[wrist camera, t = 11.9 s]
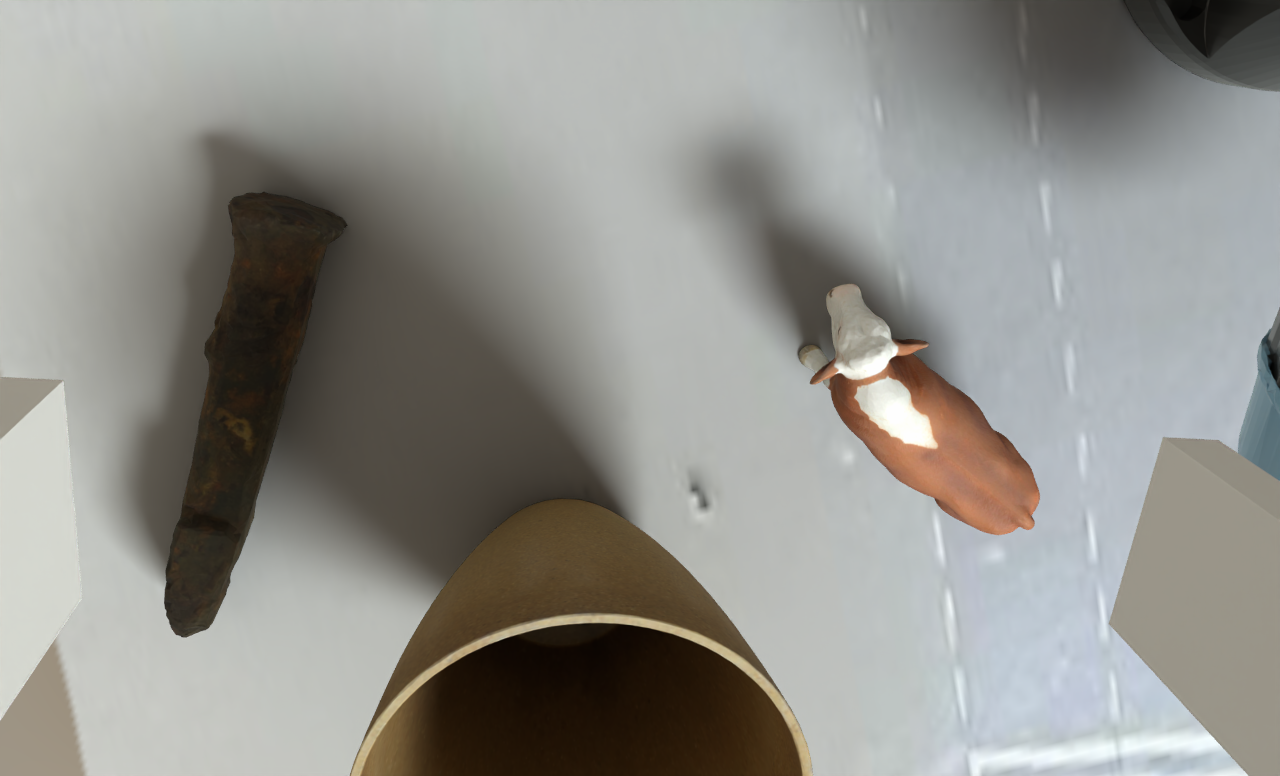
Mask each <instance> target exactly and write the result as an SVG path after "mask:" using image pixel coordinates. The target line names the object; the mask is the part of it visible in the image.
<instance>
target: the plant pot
mask: <svg viewBox="0 0 1280 776" xmlns="http://www.w3.org/2000/svg"><path fill="white" fill-rule="evenodd" d="M350 776H813V772H812V764H811V758H810V754H809V750H808V746H807V743H806V741H805V738H804V735H803V733H802V730H801V728H800V725H799V723H798V721H797V719H796V717H795V716H794V714H793V712H792V710H791V708H790V707H789V705H788V704H787V702H786V700H785V699H784V697H783V696H782V694H781V692H780V691H779V689H778V688H777V686H776V685H775V683H774V681H773V680H772V678H771V677H770V675H769V674H768V672H767V671H766V669H765V668H764V666H763V665H762V664H761V662H760V661H759V659H758V658H757V656H756V655H755V653H754V652H753V651H752V649H751V648H750V646H749V645H748V644H747V642H746V641H745V639H744V638H743V637H742V635H741V634H740V632H739V631H738V630H737V628H736V627H735V625H734V624H733V623H732V621H731V620H730V619H729V618H728V616H727V615H726V614H725V613H724V611H723V610H722V609H721V608H720V606H719V605H718V604H717V603H716V602H715V600H714V599H713V598H712V597H711V595H710V594H709V593H708V592H707V591H706V590H705V589H704V588H703V586H702V585H701V584H700V583H699V582H698V581H697V580H696V579H695V578H694V577H693V575H692V574H691V573H690V572H689V571H688V570H687V569H686V568H685V567H684V566H683V565H682V564H681V563H680V562H679V561H678V560H677V559H676V558H674V557H673V556H672V555H671V554H670V553H669V552H668V551H667V550H666V549H664V548H663V547H662V546H661V545H660V544H659V543H657V542H656V541H655V540H654V539H652V538H651V537H650V536H649V535H647V534H646V533H645V532H643V531H642V530H640V529H639V528H638V527H636V526H635V525H633V524H632V523H630V522H629V521H627V520H626V519H624V518H622V517H621V516H619V515H617V514H616V513H614V512H612V511H610V510H608V509H606V508H604V507H602V506H599V505H597V504H594V503H591V502H587V501H584V500H577V499H553V500H547V501H542V502H539V503H536V504H533V505H531V506H528V507H526V508H524V509H522V510H520V511H518V512H517V513H515V514H514V515H512V516H511V517H510V518H508V519H507V520H506V521H504V522H503V523H502V524H501V525H499V526H498V527H497V528H496V529H495V530H494V531H493V532H492V533H491V534H489V535H488V536H487V537H486V538H485V539H484V540H483V541H482V542H481V543H480V544H479V545H478V546H477V548H476V549H475V550H474V551H473V552H472V553H471V554H470V555H469V556H468V557H467V559H466V560H465V561H464V562H463V563H462V565H461V566H460V567H459V568H458V569H457V570H456V572H455V573H454V574H453V576H452V577H451V578H450V580H449V581H448V582H447V584H446V585H445V586H444V588H443V589H442V590H441V592H440V593H439V595H438V596H437V597H436V599H435V600H434V602H433V603H432V605H431V606H430V608H429V610H428V611H427V613H426V614H425V616H424V617H423V619H422V621H421V622H420V624H419V626H418V627H417V629H416V631H415V632H414V634H413V636H412V638H411V639H410V641H409V643H408V645H407V647H406V648H405V650H404V652H403V654H402V656H401V658H400V660H399V662H398V664H397V666H396V668H395V670H394V672H393V674H392V676H391V679H390V681H389V683H388V685H387V687H386V689H385V691H384V694H383V696H382V698H381V700H380V703H379V705H378V707H377V709H376V712H375V714H374V716H373V718H372V721H371V723H370V725H369V727H368V730H367V732H366V734H365V737H364V739H363V742H362V744H361V746H360V749H359V751H358V754H357V756H356V759H355V761H354V764H353V767H352V770H351V773H350Z"/></svg>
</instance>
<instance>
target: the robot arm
mask: <svg viewBox="0 0 1280 776" xmlns="http://www.w3.org/2000/svg"><path fill="white" fill-rule="evenodd" d="M1124 1H1125V3H1126V5H1127V7H1128V9H1129V11H1130V13H1131V15H1132V17H1133V18H1134V20H1135V22H1136V23H1137V25H1138V26H1139V27H1140V29H1141V30H1142V32H1143V33H1144V34H1145V35H1146V37H1147V38H1148V39H1149V40H1150V41H1151V43H1152V44H1153V45H1154V46H1155V47H1156V48H1157V49H1158V50H1159V51H1160V52H1162V53H1163V54H1164V55H1165V56H1166V57H1168V58H1169V59H1170V60H1171V61H1173V62H1174V63H1176V64H1177V65H1179V66H1180V67H1182V68H1184V69H1186V70H1187V71H1189V72H1191V73H1193V74H1195V75H1198V76H1200V77H1202V78H1205V79H1208V80H1211V81H1214V82H1218V83H1222V84H1226V85H1233V86H1239V87H1245V88H1251V89H1258V90H1265V91H1279V92H1280V0H1124ZM1257 362H1258V371H1259V372H1258V375H1257V379H1256V383H1255V386H1254V389H1253V393H1252V396H1251V399H1250V402H1249V405H1248V409H1247V412H1246V415H1245V418H1244V422H1243V425H1242V428H1241V432H1240V436H1239V444H1238V453H1237V452H1235V451H1234V450H1232V449H1231V448H1229V447H1228V446H1226V445H1225V444H1223V443H1222V442H1220V441H1219V440H1204V439H1185V438H1165V437H1163V439H1162V443H1161V446H1160V450H1159V453H1158V457H1157V460H1156V464H1155V467H1154V470H1153V474H1152V477H1151V481H1150V484H1149V488H1148V491H1147V495H1146V498H1145V501H1144V505H1143V508H1142V512H1141V515H1140V519H1139V522H1138V526H1137V529H1136V532H1135V536H1134V539H1133V543H1132V546H1131V550H1130V553H1129V557H1128V560H1127V563H1126V567H1125V570H1124V574H1123V577H1122V581H1121V584H1120V588H1119V591H1118V594H1117V598H1116V601H1115V605H1114V608H1113V612H1112V615H1111V619H1110V622H1109V624H1110V625H1111V627H1112V628H1113V629H1114V630H1115V631H1116V632H1117V633H1118V634H1119V635H1120V636H1121V637H1122V639H1123V640H1124V641H1125V642H1126V643H1127V644H1128V645H1129V646H1130V647H1131V648H1132V649H1133V650H1134V652H1135V653H1136V654H1137V655H1138V656H1139V657H1140V658H1141V659H1142V660H1143V661H1144V662H1145V664H1146V665H1147V666H1148V667H1149V668H1150V669H1151V670H1152V671H1153V672H1154V673H1155V674H1156V675H1157V677H1158V678H1159V679H1160V680H1161V681H1162V682H1163V683H1164V684H1165V685H1166V686H1167V687H1168V689H1169V690H1170V691H1171V692H1172V693H1173V694H1174V695H1175V696H1176V697H1177V698H1178V699H1179V701H1180V702H1181V703H1182V704H1183V705H1184V706H1185V707H1186V708H1187V709H1188V710H1189V711H1190V712H1191V714H1192V715H1193V716H1194V717H1195V718H1196V719H1197V720H1198V721H1199V722H1200V723H1201V724H1202V726H1203V727H1204V728H1205V729H1206V730H1207V731H1208V732H1209V733H1210V734H1211V735H1212V736H1213V737H1214V739H1215V740H1216V741H1217V742H1218V743H1219V744H1220V745H1221V746H1222V747H1223V748H1224V749H1225V751H1226V752H1227V753H1228V754H1229V755H1230V756H1231V757H1232V758H1233V759H1234V760H1235V761H1236V762H1237V764H1238V765H1239V766H1240V767H1241V768H1242V769H1243V770H1244V771H1245V772H1246V773H1247V774H1248V776H1280V308H1279V311H1278V314H1277V316H1276V319H1275V321H1274V324H1273V327H1272V328H1271V329H1269V331H1268V333H1267V334H1266V336H1265V337H1264V338H1263V339H1262V341H1261V344H1260V346H1259V349H1258V355H1257ZM81 599H82V589H81V577H80V565H79V554H78V542H77V531H76V519H75V507H74V496H73V484H72V473H71V461H70V450H69V438H68V426H67V415H66V403H65V392H64V380H48V379H29V378H9V377H0V720H1V718H2V717H3V716H4V714H5V713H6V711H7V710H8V708H9V707H10V705H11V704H12V702H13V701H14V699H15V698H16V696H17V695H18V693H19V692H20V690H21V689H22V687H23V686H24V684H25V683H26V681H27V680H28V678H29V677H30V675H31V674H32V672H33V671H34V669H35V668H36V666H37V665H38V663H39V662H40V660H41V659H42V657H43V655H44V654H45V653H46V651H47V650H48V648H49V647H50V645H51V644H52V642H53V641H54V639H55V638H56V636H57V635H58V633H59V632H60V630H61V629H62V627H63V626H64V624H65V623H66V621H67V620H68V618H69V617H70V615H71V614H72V612H73V611H74V610H75V608H76V607H77V605H78V604H79V602H80V601H81Z"/></svg>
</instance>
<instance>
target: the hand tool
mask: <svg viewBox="0 0 1280 776" xmlns="http://www.w3.org/2000/svg"><path fill="white" fill-rule="evenodd" d="M229 203H230V204H229V205H228V207H229V214H230V218H231V222H232V234H233V236H234V238H235V239H234V248H235V256H234V261H233V264H232V267H231V272H230V277H229V281H228V287H227V289H226V292H225V295H224V297H223V302H222V307H221V309H220V311H219V312H218V314H217V317H216V319H215V329H214V331H213V333H212V335H211V336H210V337H209V339H208V340H207V341H206V343H205V352H204V354H205V356H206V358H207V360H208V361H209V379H208V384H207V389H206V394H205V399H204V403H203V407H202V411H201V415H200V420H199V427H198V434H197V438H196V443H195V449H194V455H193V460H192V466H191V470H190V474H189V478H188V482H187V487H186V491H185V495H184V499H183V505H182V513H181V517H180V520H179V522H178V523H177V525H176V528H175V531H174V534H173V541H172V544H171V547H170V556H169V560H168V564H167V568H166V581H167V583H166V587H165V598H164V604H165V609H166V610H167V612H166V616H167V618H168V619H169V623H170V625H171V628H172V630H173V631H174V633H175V634H176V635H179V636H181V637H188V636H191V635H193V634H195V633H198V632H200V631H203V630H206V629H208V628H209V627H210V625H211V624H212V623H213V621H214V619H215V617H216V614H217V612H218V610H219V608H220V606H221V604H222V601H223V599H224V597H225V595H226V592H227V588H228V586H229V584H230V575H231V572H232V570H233V568H234V565H235V563H236V562H237V560H238V558H239V556H240V554H241V551H242V548H243V545H244V543H245V540H246V537H247V535H248V532H249V529H250V526H251V523H252V521H253V519H254V513H255V505H256V499H257V496H258V493H259V489H260V486H261V483H262V479H263V476H264V473H265V470H266V466H267V463H268V460H269V457H270V453H271V449H272V445H273V442H274V439H275V435H276V432H277V428H278V425H279V421H280V418H281V414H282V410H283V406H284V401H285V396H286V392H287V389H288V385H289V383H290V380H291V376H292V371H293V368H294V366H295V364H296V362H297V357H298V354H299V352H300V349H301V347H302V344H303V341H304V337H305V333H306V328H307V322H308V318H309V315H310V311H311V307H312V299H313V296H314V291H315V286H316V281H317V277H318V274H319V271H320V267H321V264H322V261H323V257H324V254H325V251H326V247H327V244H329V243H330V242H332V241H334V240H335V239H337V238H338V237H339V236H340V235H341V234H342V233H343V231H344V228H345V227H346V226H348V225H347V224H346V222H345V221H344V220H343V218H341V217H338V216H336V215H335V214H333V213H332V212H330V211H327V210H324V209H320V208H317V207H314V206H312V205H310V204H307V203H305V202H302V201H299V200H296V199H292V198H289V197H284V196H278V195H273V194H268V193H265V192H262V193H246V194H245V195H242V196H237V197H234V198H233V199H232V200H231V201H230V202H229Z"/></svg>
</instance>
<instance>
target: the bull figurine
mask: <svg viewBox="0 0 1280 776" xmlns="http://www.w3.org/2000/svg"><path fill="white" fill-rule="evenodd" d="M826 304H827V310H828V312H829V314H830V316H831V319H832V337H833V345H834V348H835V351H836V353H835V358H834V359H833V360H832V361H831V362H829V361H828V359H827V358H826V356H825V355H824V353H823V352H822V351H821V349H820V348H819V347H817V346H815V345H808V346H805V347H804V348H803V349H802V350H801V351H800V353H799V359H800V362H801V363H802V364H803V365H805V366H806V367H808V368H810V369H812V370H813V371H814V372H815V373H816V374H815V375H814V376H813V377H812V379H811V381H810V384H817V383H819V382H821V381H823V382H824V384H825V386H826V387H827V388H828V389H830V390H831V397H832V401H833V404H834V407H835V408H836V410H837V412H838V414H839V416H840V418H841V419H842V421H843V422H844V423H845V424H846V426H847V427H848V428H849V429H850V430H851V431H852V432H853V433H854V434H855V435H856V436H857V437H858V438H860V439H861V440H862V441H863V442H864V443H865V445H866V446H867V447H868V449H869V450H870V451H871V453H872V454H873V455H874V456H875V457H876V458H877V460H879V461H880V462H881V463H882V464H883V465H884V466H885V467H886V468H887V469H888V471H889V472H890V473H891V474H892V475H893V476H894V477H895V478H896V479H898V480H899V481H900V482H902V483H904V484H906V485H907V486H909V487H911V488H913V489H915V490H917V491H919V492H921V493H923V494H925V495H928V496H931V497H933V498H935V501H936V503H937V504H938V506H939V507H940V508H941V509H942V510H943V511H944V512H946V513H948V514H949V515H951V516H952V517H954V518H956V519H958V520H960V521H962V522H964V523H966V524H968V525H970V526H972V527H974V528H976V529H978V530H980V531H983V532H986V533H990V534H994V535H1002V534H1007V533H1010V532H1013V531H1014V530H1015V529H1017V528H1018V527H1022V528H1023V529H1026V530H1030V529H1032V528H1033V527H1034V524H1035V522H1034V520H1033V518H1032V516H1031V515H1032V514H1033V512H1034V511H1035V509H1036V507H1037V505H1038V503H1039V500H1040V494H1039V490H1038V487H1037V484H1036V481H1035V478H1034V475H1033V472H1032V469H1031V468H1030V466H1029V464H1028V463H1027V462H1026V461H1025V460H1024V459H1023V458H1022V457H1021V455H1020V454H1019V453H1018V451H1017V450H1016V448H1015V447H1014V446H1013V444H1012V443H1011V442H1010V441H1009V440H1008V439H1007V438H1006V437H1005V436H1004V435H1002V434H1001V433H999V432H997V431H994V430H993V429H992V428H991V426H990V425H989V423H988V422H987V420H986V418H985V416H984V415H983V413H982V411H981V410H980V408H979V407H978V406H977V405H976V404H975V402H974V401H973V400H972V399H971V398H970V397H968V396H967V395H966V394H964V393H963V392H962V391H960V390H959V389H957V388H955V387H954V386H952V385H950V384H949V383H948V382H946V381H945V380H944V379H943V378H942V377H941V376H939V375H938V374H937V373H935V372H934V371H933V370H931V369H930V368H929V367H927V366H926V365H925V364H924V363H923V362H922V361H921V360H920V359H919V358H918V357H916V356H915V355H914V354H912V353H913V352H915V351H917V350H919V349H922V348H926V347H928V345H929V344H928V343H927V342H925V341H921V340H914V339H907V340H899V339H891V333H890V328H889V327H888V325H887V324H886V323H885V321H884V320H883V319H882V318H880V317H878V316H876V315H874V313H873V312H872V311H871V310H870V309H869V308H868V307H867V306H866V305H865V303H864V301H863V299H862V295H861V291H860V288H859V287H858V286H857V285H855V284H844V285H840V286H837V287H835V288H833V289H832V290H831V291H830V292H829V293H828V294H827V297H826Z"/></svg>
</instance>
